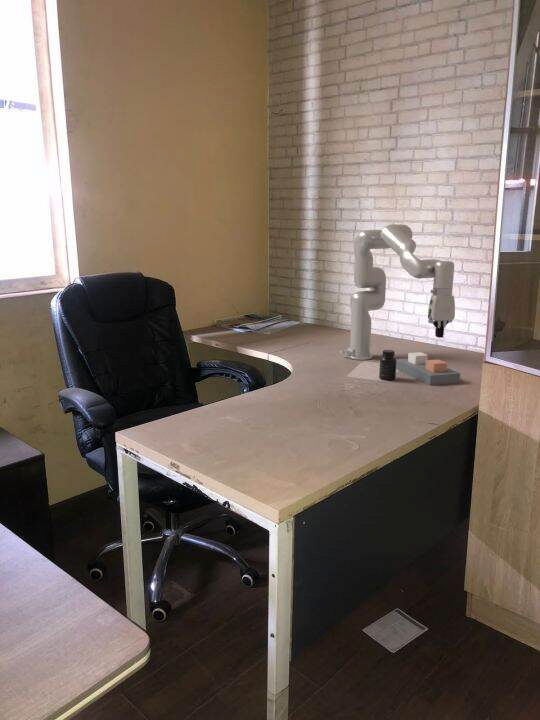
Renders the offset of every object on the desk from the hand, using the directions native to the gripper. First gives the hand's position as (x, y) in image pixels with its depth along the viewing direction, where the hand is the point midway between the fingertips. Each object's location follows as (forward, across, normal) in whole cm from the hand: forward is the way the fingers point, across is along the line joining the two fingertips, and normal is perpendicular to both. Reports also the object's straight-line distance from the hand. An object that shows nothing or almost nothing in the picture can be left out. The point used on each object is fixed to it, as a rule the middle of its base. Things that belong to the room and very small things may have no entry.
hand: (439, 336), depth 236 cm
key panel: (+18, 0, +8) cm, 20 cm away
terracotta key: (+15, 0, 0) cm, 16 cm away
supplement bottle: (+18, -19, +6) cm, 27 cm away
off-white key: (+15, 0, +14) cm, 21 cm away
